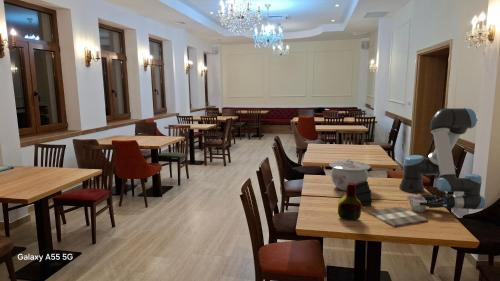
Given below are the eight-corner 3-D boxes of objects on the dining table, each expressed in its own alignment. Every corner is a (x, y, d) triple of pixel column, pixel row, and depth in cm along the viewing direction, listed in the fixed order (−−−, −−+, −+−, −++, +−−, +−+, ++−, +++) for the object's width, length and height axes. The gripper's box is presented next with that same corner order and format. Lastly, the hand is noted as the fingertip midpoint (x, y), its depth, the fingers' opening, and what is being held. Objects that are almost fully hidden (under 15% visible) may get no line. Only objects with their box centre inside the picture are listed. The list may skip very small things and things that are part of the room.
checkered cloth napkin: (399, 208, 190) (400, 206, 190) (427, 221, 171) (428, 219, 171) (367, 212, 184) (368, 211, 183) (393, 227, 165) (393, 225, 165)
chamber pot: (364, 197, 209) (365, 165, 206) (322, 190, 223) (323, 161, 220) (373, 186, 232) (375, 157, 229) (335, 180, 247) (336, 153, 244)
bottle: (361, 218, 176) (363, 182, 173) (360, 222, 170) (362, 185, 167) (338, 215, 181) (339, 180, 177) (336, 219, 175) (338, 183, 172)
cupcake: (418, 206, 192) (419, 190, 191) (430, 212, 183) (432, 195, 182) (404, 208, 190) (406, 191, 188) (416, 214, 181) (417, 196, 179)
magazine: (377, 204, 191) (366, 181, 192) (355, 211, 197) (345, 188, 197) (377, 202, 195) (366, 179, 195) (355, 209, 200) (345, 186, 201)
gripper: (461, 215, 173) (416, 213, 176) (443, 201, 195) (403, 199, 198) (463, 201, 172) (417, 200, 175) (444, 189, 193) (404, 187, 196)
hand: (410, 200), depth 186 cm, fingers closed on cupcake, 9 cm apart
